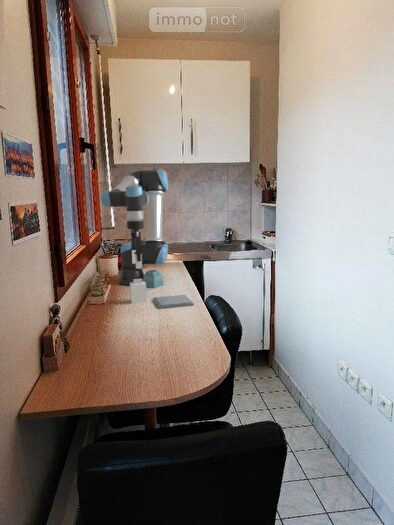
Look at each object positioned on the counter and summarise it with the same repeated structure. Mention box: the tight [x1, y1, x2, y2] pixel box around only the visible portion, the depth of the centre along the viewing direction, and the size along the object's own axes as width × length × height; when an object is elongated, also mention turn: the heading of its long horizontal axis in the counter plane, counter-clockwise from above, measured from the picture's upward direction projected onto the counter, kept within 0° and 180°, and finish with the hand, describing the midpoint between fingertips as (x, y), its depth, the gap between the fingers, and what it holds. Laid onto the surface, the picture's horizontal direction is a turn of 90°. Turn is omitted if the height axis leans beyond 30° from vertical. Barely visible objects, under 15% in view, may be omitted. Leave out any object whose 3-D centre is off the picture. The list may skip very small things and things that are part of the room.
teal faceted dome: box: [143, 269, 164, 290], centre depth 209 cm, size 9×9×9 cm
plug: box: [129, 279, 148, 305], centre depth 179 cm, size 5×7×11 cm
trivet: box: [152, 294, 194, 310], centre depth 177 cm, size 16×16×1 cm
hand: (137, 265), depth 177 cm, fingers open, 13 cm apart
